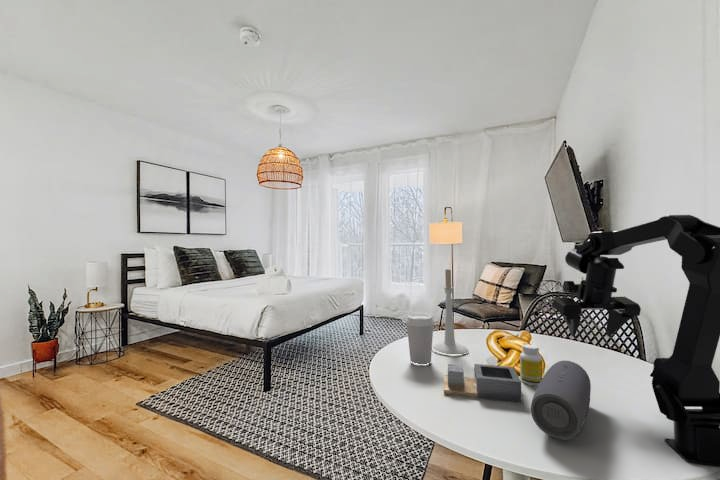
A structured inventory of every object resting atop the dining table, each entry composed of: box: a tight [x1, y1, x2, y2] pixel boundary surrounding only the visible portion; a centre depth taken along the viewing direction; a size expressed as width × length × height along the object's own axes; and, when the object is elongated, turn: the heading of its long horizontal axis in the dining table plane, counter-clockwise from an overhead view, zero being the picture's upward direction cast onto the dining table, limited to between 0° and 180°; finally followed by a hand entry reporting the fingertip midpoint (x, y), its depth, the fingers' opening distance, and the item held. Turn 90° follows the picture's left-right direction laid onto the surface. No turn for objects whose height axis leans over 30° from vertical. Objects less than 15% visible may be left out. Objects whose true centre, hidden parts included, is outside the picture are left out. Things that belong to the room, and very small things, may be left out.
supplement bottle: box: [519, 343, 543, 386], centre depth 88 cm, size 5×5×10 cm
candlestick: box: [432, 268, 469, 354], centre depth 116 cm, size 13×13×30 cm
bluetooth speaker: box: [530, 360, 592, 440], centre depth 69 cm, size 23×9×10 cm, turn 141°
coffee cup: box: [405, 313, 436, 364], centre depth 104 cm, size 10×10×15 cm
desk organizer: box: [443, 363, 523, 404], centre depth 83 cm, size 10×18×5 cm, turn 73°
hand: (590, 335), depth 84 cm, fingers open, 9 cm apart
